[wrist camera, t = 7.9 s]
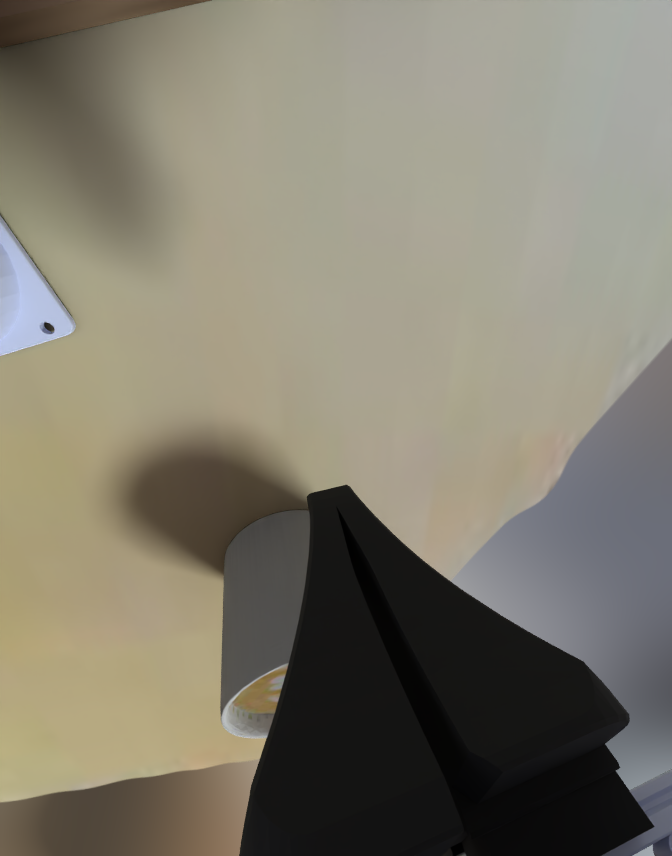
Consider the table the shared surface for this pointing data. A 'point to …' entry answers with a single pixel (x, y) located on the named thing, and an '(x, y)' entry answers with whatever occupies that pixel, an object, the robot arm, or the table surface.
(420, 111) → the table surface
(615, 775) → the robot arm
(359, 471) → the table surface
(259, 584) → the coffee mug
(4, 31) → the key panel
